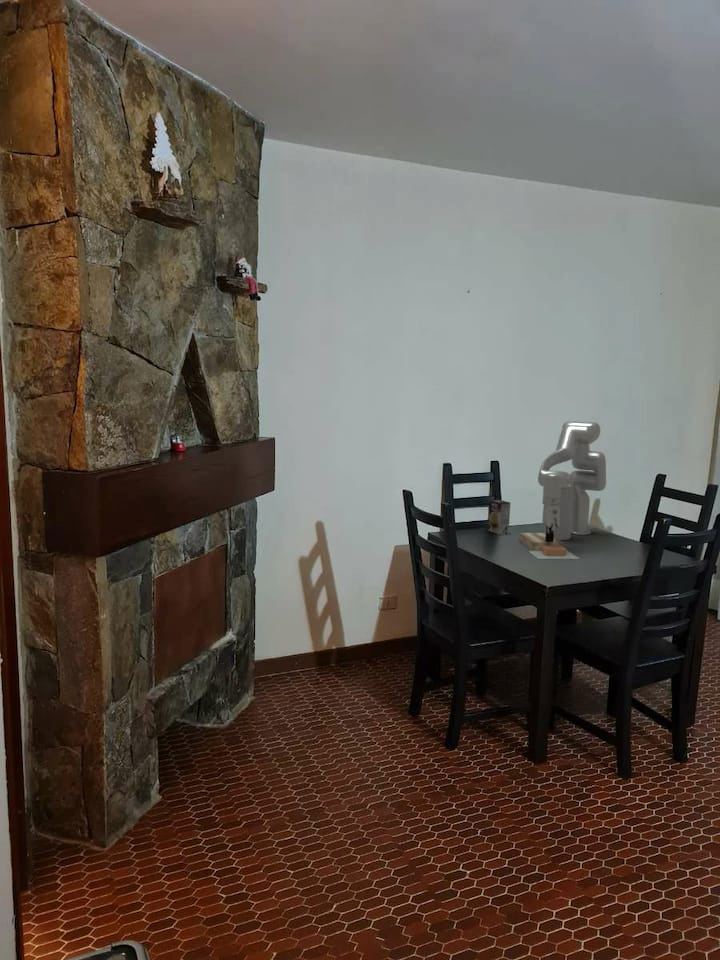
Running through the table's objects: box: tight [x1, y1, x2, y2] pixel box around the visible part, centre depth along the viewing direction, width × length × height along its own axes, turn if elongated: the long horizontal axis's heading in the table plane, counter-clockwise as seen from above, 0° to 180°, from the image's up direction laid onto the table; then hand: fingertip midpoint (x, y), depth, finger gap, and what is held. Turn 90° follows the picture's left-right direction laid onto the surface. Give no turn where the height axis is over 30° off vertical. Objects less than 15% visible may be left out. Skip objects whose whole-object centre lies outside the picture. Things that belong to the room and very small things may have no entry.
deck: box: [519, 532, 564, 551], centre depth 323 cm, size 14×20×4 cm
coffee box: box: [487, 499, 511, 535], centre depth 350 cm, size 9×6×16 cm
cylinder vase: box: [543, 485, 574, 541], centre depth 339 cm, size 12×12×25 cm
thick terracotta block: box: [542, 545, 568, 556], centre depth 307 cm, size 9×6×3 cm, turn 94°
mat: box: [528, 550, 580, 560], centre depth 306 cm, size 18×14×1 cm
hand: (549, 541), depth 311 cm, fingers closed
